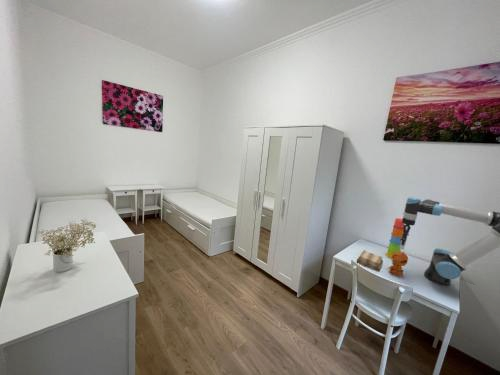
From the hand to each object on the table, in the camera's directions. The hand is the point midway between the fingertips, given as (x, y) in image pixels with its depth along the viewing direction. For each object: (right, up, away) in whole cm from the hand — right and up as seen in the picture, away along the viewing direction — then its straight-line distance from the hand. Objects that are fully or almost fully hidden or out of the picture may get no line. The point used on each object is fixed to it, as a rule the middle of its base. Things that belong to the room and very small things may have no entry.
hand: (402, 245), depth 157 cm
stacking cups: (+13, -18, +31) cm, 38 cm away
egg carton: (-16, -18, +15) cm, 29 cm away
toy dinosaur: (-2, -22, +4) cm, 23 cm away
